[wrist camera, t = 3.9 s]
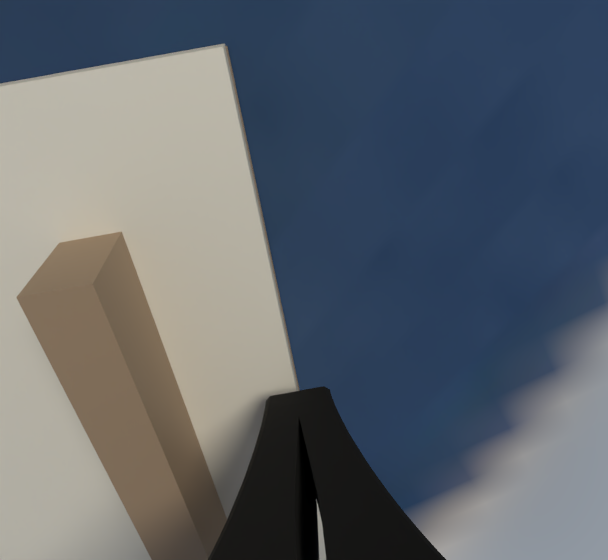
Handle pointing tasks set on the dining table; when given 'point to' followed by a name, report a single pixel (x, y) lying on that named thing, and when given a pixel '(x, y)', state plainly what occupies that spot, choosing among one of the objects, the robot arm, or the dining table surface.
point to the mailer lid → (131, 311)
